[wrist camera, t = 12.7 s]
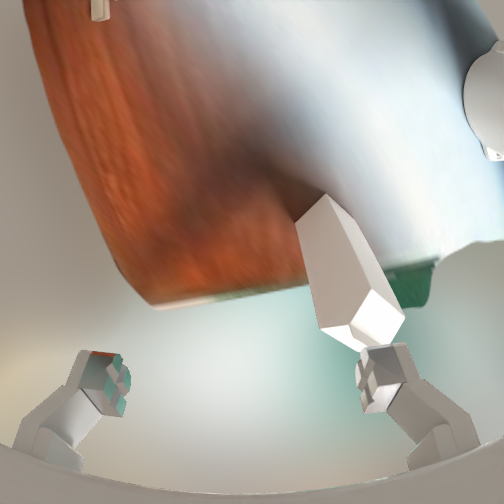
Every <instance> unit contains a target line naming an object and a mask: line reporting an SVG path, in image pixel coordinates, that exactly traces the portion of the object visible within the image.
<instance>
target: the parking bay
mask: <svg viewBox="0 0 504 504" xmlns="http://www.w3.org/2000/svg"><path fill="white" fill-rule="evenodd" d="M91 15H92V21H96V22H100V21H104V20H107V19H110V6H109V0H91Z"/></svg>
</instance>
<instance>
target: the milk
mask: <svg viewBox="0 0 504 504" xmlns="http://www.w3.org/2000/svg"><path fill="white" fill-rule="evenodd" d="M295 226H296V230H297V234H298V238H299V242H300V246H301V251H302V255H303V259H304V263H305V267H306V272H307V276H308V280H309V284H310V289H311V293H312V297H313V302H314V307H315V311H316V316H317V320H318V325H319V329H321V330H322V331H324V332H325V333H327V334H329V335H330V336H332V337H334V338H335V339H337V340H339V341H340V342H342V343H344V344H345V345H347V346H349V347H350V348H352V349H354V350H355V351H357V352H361V350H362V349H363V348H364V347H371V346H378V345H385V344H390V342H391V341H392V339H393V338H394V336H395V334H396V333H397V331H398V329H399V328H400V326H401V324H402V322H403V321H404V319H405V316H404V314H403V312H402V309H401V307H400V305H399V303H398V301H397V299H396V297H395V295H394V293H393V291H392V289H391V287H390V285H389V283H388V281H387V279H386V277H385V275H384V273H383V271H382V269H381V267H380V265H379V263H378V261H377V260H376V258H375V256H374V254H373V252H372V250H371V248H370V247H369V245H368V243H367V241H366V239H365V237H364V236H363V234H362V232H361V230H360V229H359V227H358V225H357V223H356V222H355V220H354V219H353V218H352V217H351V216H350V215H349V214H348V213H347V212H346V211H345V210H344V209H343V208H342V207H340V206H339V205H338V204H337V203H336V202H335V201H334V200H333V199H332V198H331V197H330V196H328V195H327V194H324V195H323V196H322V197H321V198H320V199H319V200H318V201H317V202H316V203H315V204H314V205H313V206H312V207H311V208H310V209H309V210H308V211H307V212H306V213H305V214H304V215H303V216H302V217H301V218H300V219H299V220H298V221H297V222H296V223H295Z"/></svg>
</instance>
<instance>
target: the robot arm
mask: <svg viewBox="0 0 504 504" xmlns="http://www.w3.org/2000/svg"><path fill="white" fill-rule="evenodd" d="M464 107H465V113H466V116H467V120H468V122H469V125H470V127H471V129H472V130H473V132H474V134H475V135H476V136H477V137H478V139H479V140H480V142H481V143H482V146H483V150H484V154H485V156H486V158H487V159H488V160H491V161H502V160H504V42H503V41H497V42H495V44H494V45H493V47H492V48H491V50H490V51H489V52H488V53H486V54H484V55H482V56H480V57H479V58H478V59H477V60H475V62H474V63H473V64H472V66H471V67H470V69H469V71H468V74H467V77H466V80H465V85H464ZM360 356H361V360H359V361H358V362H357V365H356V370H355V378H356V384H357V388H359V389H360V390H361V391H362V395H361V397H360V401H361V405H362V409H363V413H364V414H368V413H375V412H381V411H387V413H388V414H389V415H390V416H391V418H392V419H394V421H395V422H396V423H397V424H398V425H399V426H400V427H401V428H402V429H403V430H404V431H405V432H406V433H407V434H408V435H409V437H410V438H411V439H412V440H413V441H414V442H415V443H416V444H417V446H416V447H415V448H414V449H413V450H412V451H411V452H410V453H409V454H408V455H407V457H406V458H407V463H408V467H409V471H407V472H404V473H400V474H396V475H392V476H388V477H384V478H380V479H375V480H371V481H366V482H361V483H355V484H350V485H344V486H337V487H331V488H323V489H315V490H307V491H296V492H281V493H259V494H226V493H204V492H190V491H179V490H170V489H162V488H155V487H148V486H141V485H136V484H130V483H125V482H120V481H115V480H110V479H106V478H102V477H97V476H93V475H89V474H86V473H82V468H83V464H84V458H83V456H82V455H81V454H80V453H78V452H77V451H76V450H75V449H74V448H75V447H76V446H77V445H78V444H79V442H80V441H81V440H82V439H83V438H84V437H85V436H86V434H87V433H88V432H89V431H90V430H91V429H92V428H93V426H94V425H95V424H96V423H97V422H98V421H99V419H101V417H102V415H107V416H115V417H123V414H124V410H125V406H126V400H125V398H124V396H125V395H126V394H127V393H128V392H129V390H130V386H131V375H130V372H129V370H128V368H127V367H126V366H125V365H123V364H122V362H123V358H122V357H121V355H120V354H115V353H106V352H97V351H88V350H81V351H80V352H79V353H78V355H77V357H76V360H75V362H74V365H73V367H72V370H71V372H70V375H69V377H68V380H67V383H66V385H65V386H63V385H62V386H61V387H60V388H58V389H57V390H56V391H55V392H54V393H53V394H51V395H50V396H49V397H48V398H47V399H46V400H44V401H43V402H42V403H41V404H40V405H39V406H37V407H36V408H35V409H34V410H33V411H31V412H30V413H29V414H28V415H27V416H26V417H24V418H23V419H22V421H21V424H20V427H19V429H18V432H17V435H16V438H15V441H14V444H13V447H12V448H10V447H7V446H5V445H3V444H1V443H0V504H504V435H503V436H501V437H499V438H497V439H495V440H493V441H490V442H488V443H486V444H484V445H480V442H479V439H478V436H477V433H476V430H475V427H474V425H473V422H472V420H471V417H470V415H469V414H468V413H467V412H466V411H464V410H463V409H462V408H461V407H459V406H458V405H457V404H456V403H454V402H453V401H452V400H451V399H449V398H448V397H447V396H445V395H444V394H443V393H442V392H440V391H439V390H438V389H436V388H435V387H434V386H433V385H431V384H430V383H429V382H427V381H426V380H425V379H422V380H421V379H420V376H419V374H418V371H417V369H416V366H415V364H414V361H413V359H412V356H411V354H410V351H409V349H408V347H407V344H406V343H404V342H400V343H394V344H385V345H378V346H371V347H364V348H363V349H362V350H361V353H360Z"/></svg>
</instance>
